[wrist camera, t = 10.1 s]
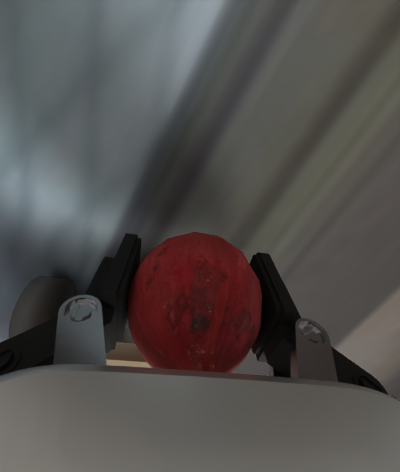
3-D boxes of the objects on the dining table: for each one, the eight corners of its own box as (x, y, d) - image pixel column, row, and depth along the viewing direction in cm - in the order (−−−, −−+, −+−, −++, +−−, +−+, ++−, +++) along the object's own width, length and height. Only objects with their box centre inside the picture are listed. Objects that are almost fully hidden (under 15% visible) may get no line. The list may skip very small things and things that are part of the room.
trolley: (47, 261, 15) (-414, 814, 4) (193, 279, 16) (206, 723, 5) (67, 380, 22) (-63, 690, 11) (167, 386, 24) (148, 666, 12)
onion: (148, 196, 12) (90, 338, 5) (256, 215, 13) (337, 360, 6) (140, 282, 15) (96, 446, 8) (228, 293, 15) (259, 451, 9)
